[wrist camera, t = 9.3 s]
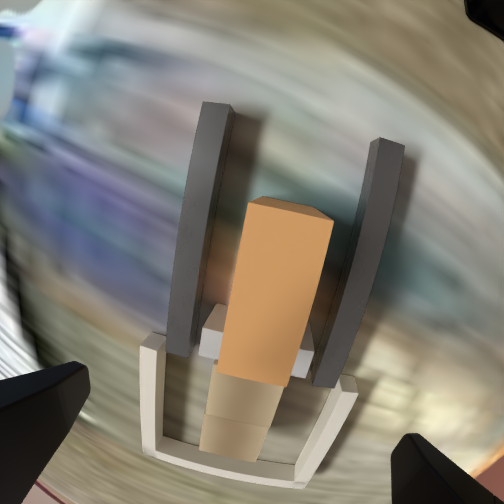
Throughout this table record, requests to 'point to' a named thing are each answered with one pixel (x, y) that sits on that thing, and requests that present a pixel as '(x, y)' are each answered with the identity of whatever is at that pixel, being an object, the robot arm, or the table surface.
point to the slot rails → (201, 225)
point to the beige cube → (242, 399)
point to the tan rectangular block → (270, 294)
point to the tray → (226, 466)
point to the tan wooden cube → (231, 438)
